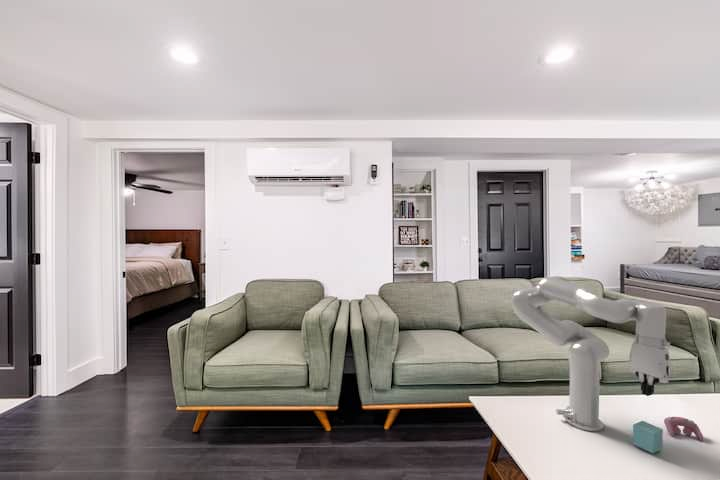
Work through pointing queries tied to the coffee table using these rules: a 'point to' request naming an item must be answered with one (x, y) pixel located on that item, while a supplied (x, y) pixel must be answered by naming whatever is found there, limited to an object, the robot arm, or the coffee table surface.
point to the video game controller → (688, 426)
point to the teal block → (647, 436)
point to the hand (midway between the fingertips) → (647, 394)
